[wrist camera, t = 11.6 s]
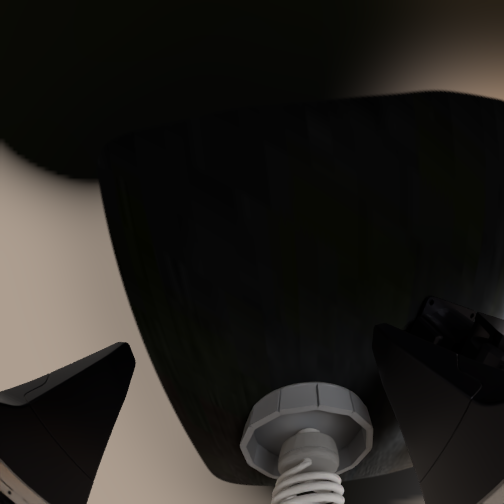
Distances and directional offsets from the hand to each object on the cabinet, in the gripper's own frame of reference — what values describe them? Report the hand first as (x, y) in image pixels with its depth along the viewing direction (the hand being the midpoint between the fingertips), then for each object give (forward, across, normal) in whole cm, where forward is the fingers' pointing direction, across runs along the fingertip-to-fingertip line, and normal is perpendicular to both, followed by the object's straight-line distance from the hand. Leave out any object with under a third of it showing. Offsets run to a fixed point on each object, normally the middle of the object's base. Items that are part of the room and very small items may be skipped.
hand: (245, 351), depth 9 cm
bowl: (+10, -3, +18) cm, 21 cm away
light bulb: (+10, -3, +18) cm, 20 cm away
